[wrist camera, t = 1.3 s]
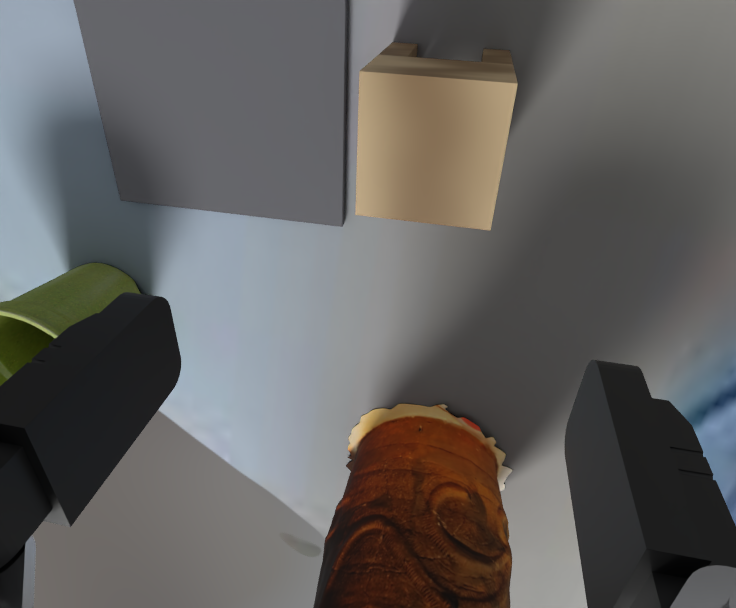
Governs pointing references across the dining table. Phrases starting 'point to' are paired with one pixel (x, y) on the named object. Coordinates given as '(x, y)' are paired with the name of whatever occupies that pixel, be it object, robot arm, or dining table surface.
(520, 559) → the dining table surface
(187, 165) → the mat
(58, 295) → the plant pot
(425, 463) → the vessel
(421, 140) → the notched wooden block
